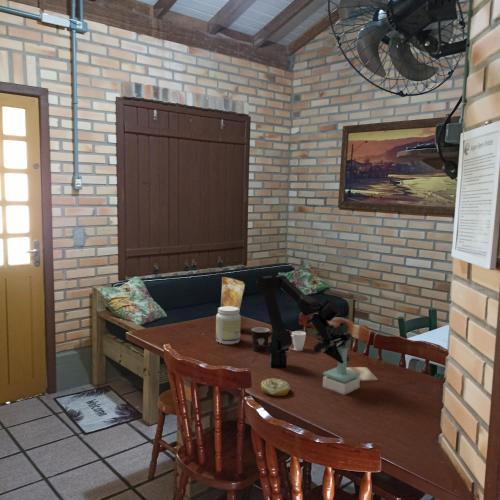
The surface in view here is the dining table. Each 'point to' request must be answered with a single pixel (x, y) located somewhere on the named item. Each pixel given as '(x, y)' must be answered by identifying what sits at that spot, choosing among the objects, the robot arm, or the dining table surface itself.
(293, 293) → the robot arm
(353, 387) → the tub
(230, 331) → the supplement tub
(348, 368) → the board
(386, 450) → the dining table surface
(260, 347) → the coffee mug
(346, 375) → the lid
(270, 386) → the decorated donut
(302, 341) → the cup
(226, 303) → the pancake mix bag
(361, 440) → the dining table surface
